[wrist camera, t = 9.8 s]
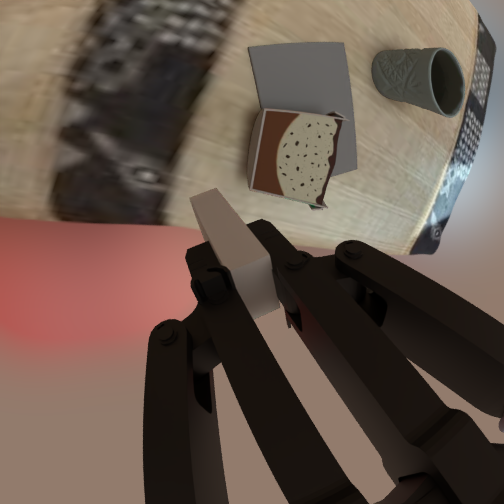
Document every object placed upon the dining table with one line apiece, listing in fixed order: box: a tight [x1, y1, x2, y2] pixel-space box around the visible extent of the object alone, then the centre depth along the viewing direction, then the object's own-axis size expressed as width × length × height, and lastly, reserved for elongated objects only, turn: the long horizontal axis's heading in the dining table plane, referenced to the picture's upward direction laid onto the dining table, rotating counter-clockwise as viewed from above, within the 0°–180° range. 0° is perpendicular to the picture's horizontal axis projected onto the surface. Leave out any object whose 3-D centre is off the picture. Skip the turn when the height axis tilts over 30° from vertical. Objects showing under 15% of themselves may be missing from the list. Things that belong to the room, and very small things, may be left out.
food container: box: [247, 108, 350, 210], centre depth 31 cm, size 12×6×10 cm
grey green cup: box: [372, 48, 465, 118], centre depth 27 cm, size 10×10×12 cm
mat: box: [248, 42, 357, 177], centre depth 32 cm, size 14×20×1 cm
